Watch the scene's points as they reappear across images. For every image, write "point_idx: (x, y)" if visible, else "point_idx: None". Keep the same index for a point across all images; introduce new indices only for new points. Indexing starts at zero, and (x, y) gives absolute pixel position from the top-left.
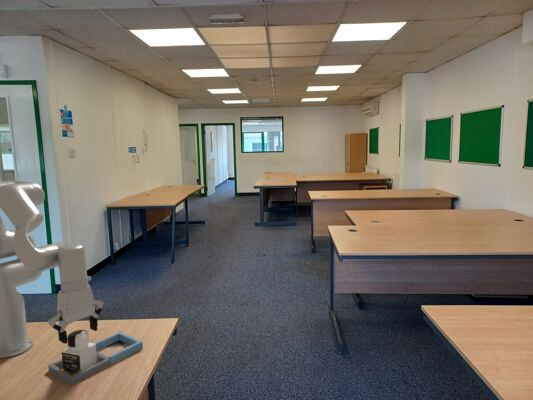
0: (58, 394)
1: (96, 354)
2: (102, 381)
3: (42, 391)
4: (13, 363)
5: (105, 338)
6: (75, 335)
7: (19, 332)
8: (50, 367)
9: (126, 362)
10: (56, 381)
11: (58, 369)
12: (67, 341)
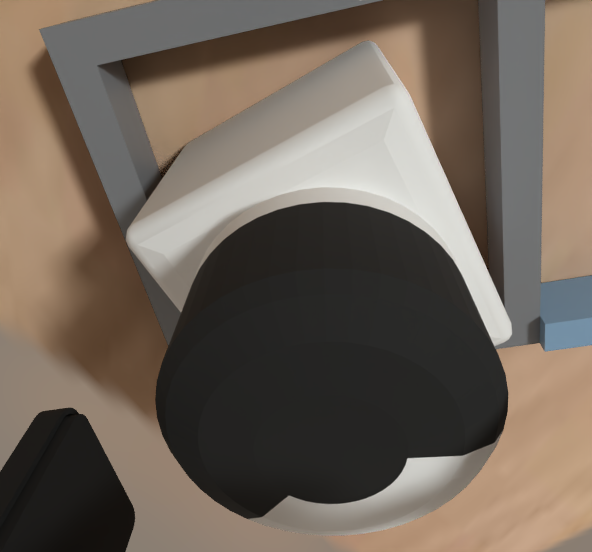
0: (119, 392)
1: (501, 179)
2: None
3: (25, 300)
4: None
5: None
6: (266, 502)
7: None
8: (64, 81)
9: None
10: (120, 247)
11: (129, 198)
12: (131, 531)
